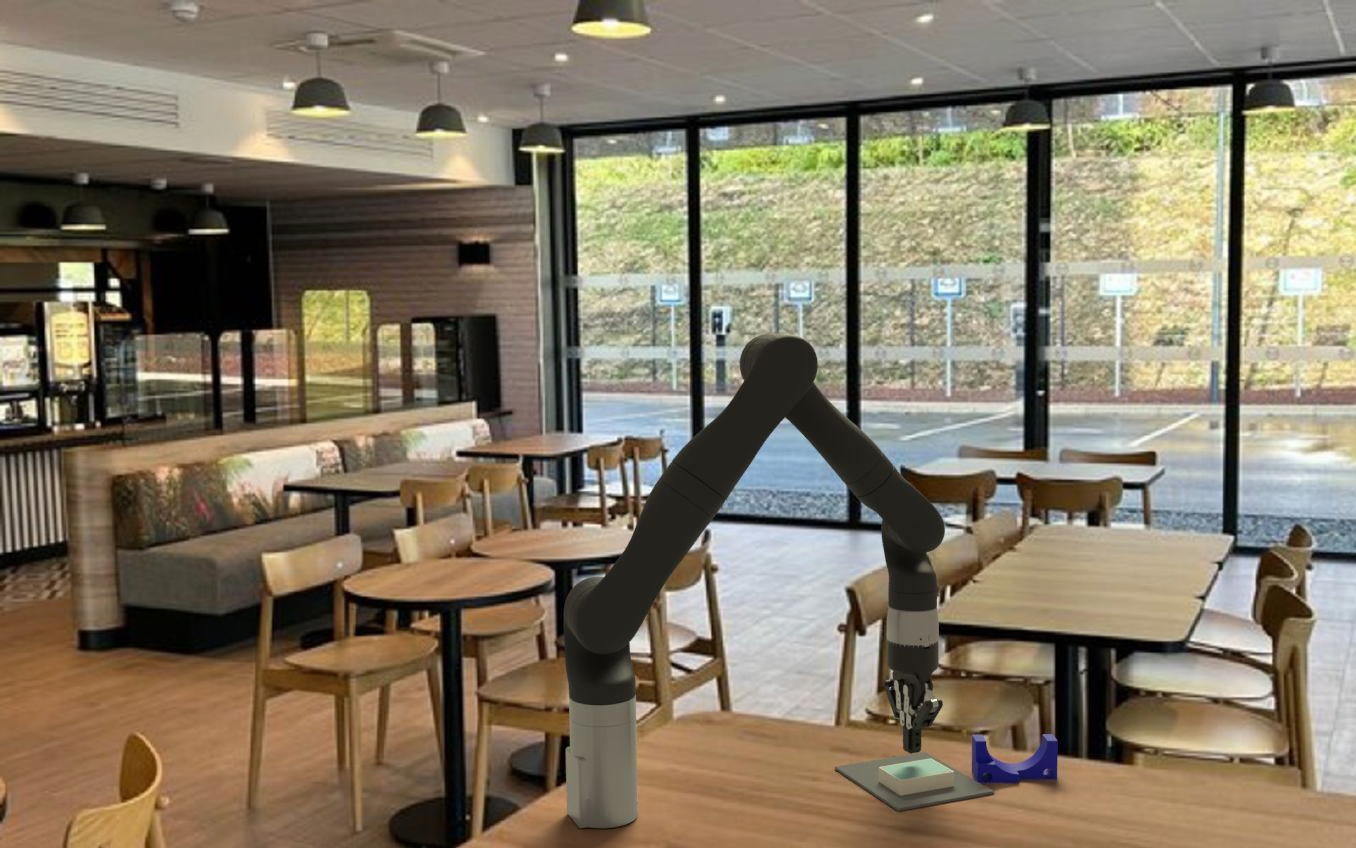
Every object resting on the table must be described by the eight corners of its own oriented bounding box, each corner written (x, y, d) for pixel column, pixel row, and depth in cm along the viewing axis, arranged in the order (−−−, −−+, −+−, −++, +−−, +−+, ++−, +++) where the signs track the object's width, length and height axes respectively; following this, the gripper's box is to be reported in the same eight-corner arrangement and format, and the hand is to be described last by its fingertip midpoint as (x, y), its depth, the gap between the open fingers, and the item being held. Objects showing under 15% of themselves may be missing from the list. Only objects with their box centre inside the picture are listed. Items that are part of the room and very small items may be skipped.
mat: (897, 811, 184) (897, 808, 184) (835, 769, 201) (834, 766, 201) (993, 793, 190) (993, 791, 190) (925, 754, 207) (925, 752, 206)
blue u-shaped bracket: (977, 784, 194) (978, 744, 194) (971, 773, 199) (972, 734, 198) (1059, 784, 194) (1060, 744, 193) (1051, 773, 198) (1052, 734, 198)
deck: (878, 781, 194) (900, 795, 189) (878, 767, 194) (900, 780, 188) (930, 772, 198) (953, 786, 192) (931, 758, 197) (953, 771, 192)
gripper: (867, 629, 198) (867, 741, 200) (915, 650, 186) (914, 770, 187) (910, 623, 201) (909, 734, 202) (960, 644, 189) (959, 762, 190)
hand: (912, 751), depth 195 cm, fingers closed
